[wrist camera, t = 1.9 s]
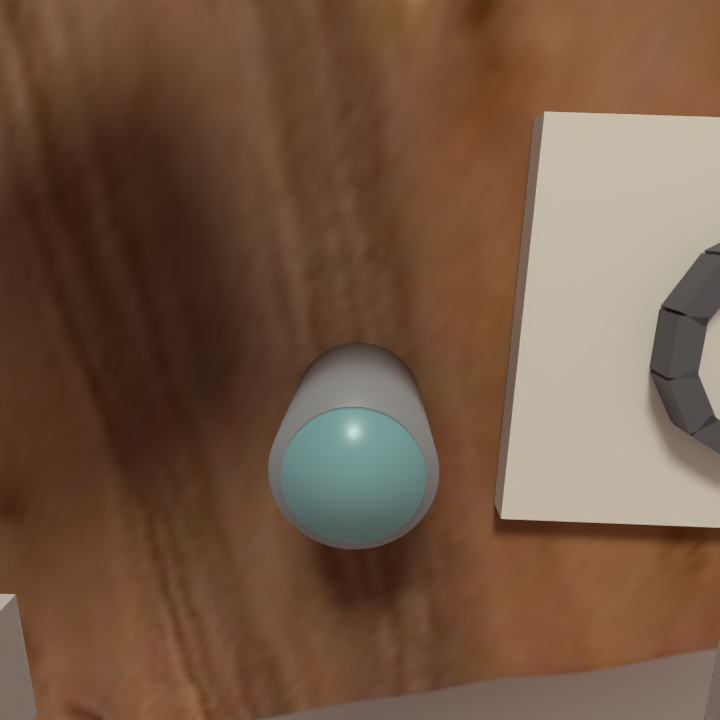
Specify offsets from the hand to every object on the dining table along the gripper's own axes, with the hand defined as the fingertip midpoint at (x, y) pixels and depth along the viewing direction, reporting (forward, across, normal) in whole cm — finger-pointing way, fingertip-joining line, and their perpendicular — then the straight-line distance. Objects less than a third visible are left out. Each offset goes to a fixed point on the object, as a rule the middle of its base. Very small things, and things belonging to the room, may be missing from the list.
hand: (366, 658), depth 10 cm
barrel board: (+17, +18, +3) cm, 24 cm away
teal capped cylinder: (+17, 0, -1) cm, 17 cm away
